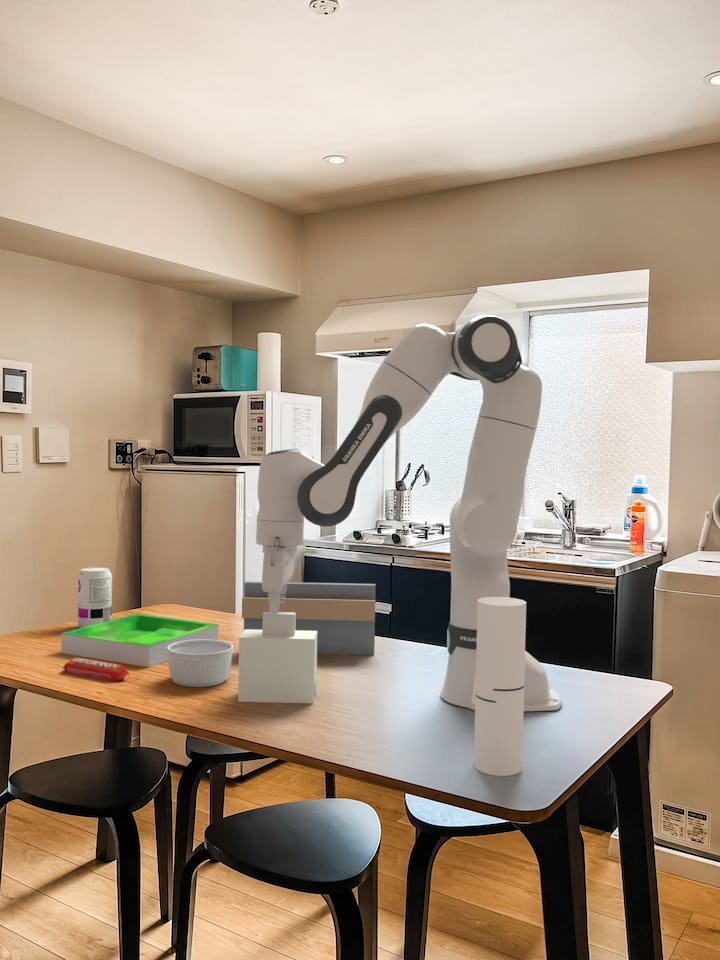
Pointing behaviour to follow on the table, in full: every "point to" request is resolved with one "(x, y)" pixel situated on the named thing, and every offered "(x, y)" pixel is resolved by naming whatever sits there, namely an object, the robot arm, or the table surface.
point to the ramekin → (200, 662)
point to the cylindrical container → (499, 685)
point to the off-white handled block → (277, 662)
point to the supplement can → (94, 596)
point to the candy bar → (96, 669)
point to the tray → (134, 638)
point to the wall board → (321, 613)
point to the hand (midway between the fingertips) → (277, 607)
